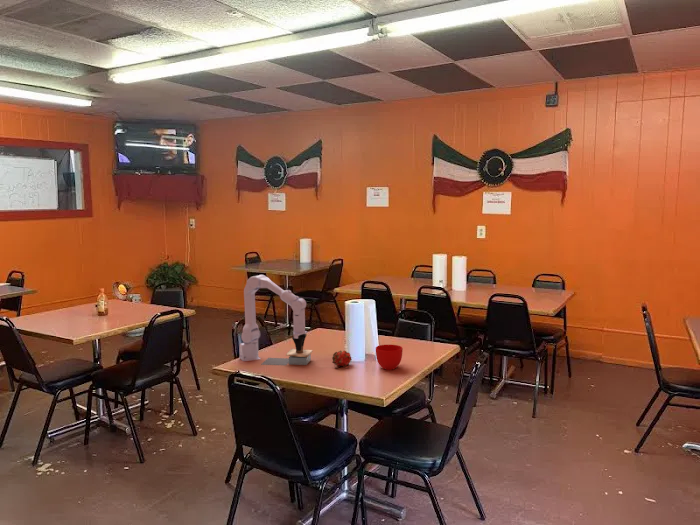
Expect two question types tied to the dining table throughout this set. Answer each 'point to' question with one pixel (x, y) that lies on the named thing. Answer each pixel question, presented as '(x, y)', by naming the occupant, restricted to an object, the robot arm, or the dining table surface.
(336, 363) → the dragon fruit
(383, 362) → the ceramic cup
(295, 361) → the dish
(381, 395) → the dining table surface
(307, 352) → the lid
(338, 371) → the dining table surface
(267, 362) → the mat
